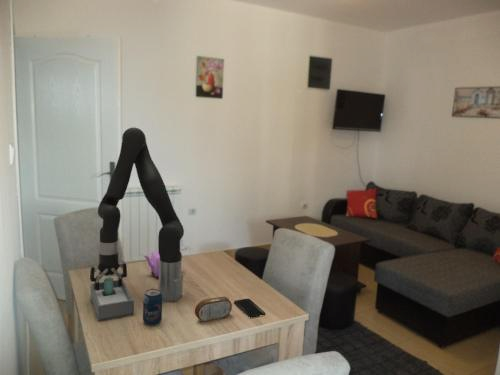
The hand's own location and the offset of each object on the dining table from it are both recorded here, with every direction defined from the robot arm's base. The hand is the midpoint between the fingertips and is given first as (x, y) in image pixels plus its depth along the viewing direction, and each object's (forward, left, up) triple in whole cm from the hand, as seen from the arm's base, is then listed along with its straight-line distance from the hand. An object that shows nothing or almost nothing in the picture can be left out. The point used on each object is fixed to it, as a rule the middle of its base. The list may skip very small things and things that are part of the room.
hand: (108, 288), depth 158 cm
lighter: (+15, -23, -5) cm, 28 cm away
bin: (-4, +4, -5) cm, 8 cm away
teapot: (-5, -33, -5) cm, 34 cm away
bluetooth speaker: (-46, -4, -5) cm, 47 cm away
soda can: (-26, +8, -5) cm, 28 cm away
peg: (0, 0, -4) cm, 4 cm away
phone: (-56, -18, -6) cm, 60 cm away
